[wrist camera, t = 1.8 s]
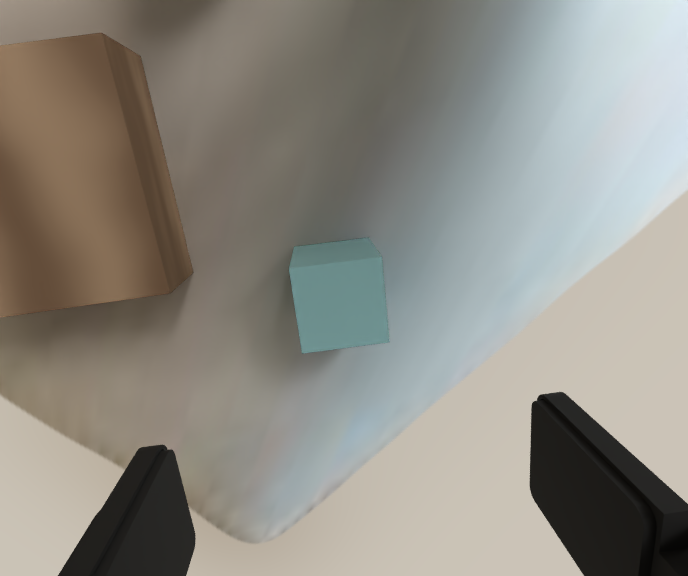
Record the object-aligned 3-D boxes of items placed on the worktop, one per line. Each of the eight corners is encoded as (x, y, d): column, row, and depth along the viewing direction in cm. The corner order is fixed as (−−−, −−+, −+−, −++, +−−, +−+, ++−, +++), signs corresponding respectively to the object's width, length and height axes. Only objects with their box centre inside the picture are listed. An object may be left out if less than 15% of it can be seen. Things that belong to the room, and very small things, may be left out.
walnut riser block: (142, 57, 25) (101, 32, 20) (194, 271, 28) (170, 293, 24) (-83, 86, 24) (-180, 68, 20) (-1, 298, 28) (-65, 326, 23)
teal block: (368, 237, 28) (382, 256, 23) (375, 307, 30) (389, 342, 24) (294, 246, 28) (288, 268, 22) (304, 316, 30) (302, 353, 24)
